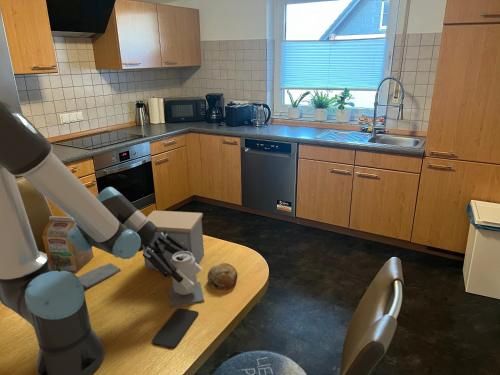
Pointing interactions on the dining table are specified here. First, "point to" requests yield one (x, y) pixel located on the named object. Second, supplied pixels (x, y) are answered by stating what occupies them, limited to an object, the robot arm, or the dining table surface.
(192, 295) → the mat
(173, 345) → the phone
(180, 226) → the cabinet
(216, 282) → the bread roll
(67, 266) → the milk carton
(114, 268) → the cleaver
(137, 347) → the dining table surface
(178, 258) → the can
